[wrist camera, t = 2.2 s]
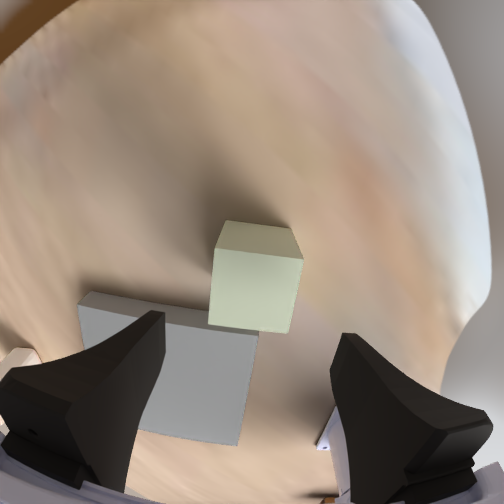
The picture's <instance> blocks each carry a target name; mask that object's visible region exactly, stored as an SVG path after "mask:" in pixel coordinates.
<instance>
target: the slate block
mask: <svg viewBox="0 0 504 504" xmlns="http://www.w3.org/2000/svg"><path fill="white" fill-rule="evenodd" d="M77 308H78V315H79V321H80V327H81V333H82V339H83V344H84V349H85V350H86V349H88V348H90V347H93V346H95V345H97V344H99V343H101V342H102V341H104V340H106V339H108V338H109V337H111V336H113V335H114V334H116V333H118V332H119V331H121V330H122V329H124V328H125V327H127V326H128V325H130V324H131V323H133V322H134V321H136V320H137V319H138V318H140V317H141V316H143V315H144V314H146V313H147V312H148V311H150V310H155V311H161V312H165V329H166V354H165V358H164V361H163V365H162V368H161V372H160V374H159V377H158V379H157V381H156V384H155V386H154V388H153V391H152V393H151V395H150V397H149V400H148V402H147V404H146V407H145V409H144V411H143V414H142V417H141V420H140V423H139V426H138V429H140V430H144V431H148V432H153V433H157V434H162V435H167V436H172V437H177V438H182V439H188V440H194V441H200V442H207V443H214V444H222V445H231V446H237V445H238V440H239V435H240V430H241V425H242V420H243V415H244V410H245V405H246V400H247V395H248V390H249V384H250V379H251V374H252V369H253V363H254V358H255V353H256V347H257V342H258V336H259V332H258V330H249V329H241V328H233V327H225V326H218V325H211V324H208V317H209V311H204V310H197V309H190V308H184V307H178V306H171V305H165V304H159V303H154V302H148V301H142V300H137V299H131V298H126V297H120V296H115V295H110V294H105V293H100V292H95V291H90V292H89V293H88V294H87V295H86V296H85V297H84V298H83V299H82V300H81V301H80V302H79V303H78V304H77Z"/></svg>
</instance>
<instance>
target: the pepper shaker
mask: <svg viewBox="0 0 504 504" xmlns="http://www.w3.org/2000/svg"><path fill="white" fill-rule="evenodd" d="M41 363H42V362H41V360H40V358H39V356H38V355H37V353H36V351H35V350H33V349H29V348H20V347H16V348H14V349H13V350H12V351H11V352H10V353H9V354H8V355H7V356H6V357H5V358H4V359H3V361H2V362H1V363H0V380H1V379H2V378H3V377H4V376H5V375H6V373H7V372H8V371H9V370H10V369H11V368H12V367H21V366H29V365H36V364H41ZM3 423H4V420H3V418H2V417H1V415H0V425H2V424H3Z"/></svg>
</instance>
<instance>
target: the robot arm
mask: <svg viewBox="0 0 504 504" xmlns="http://www.w3.org/2000/svg"><path fill="white" fill-rule="evenodd" d="M165 354H166V329H165V312H161V311H155V310H150V311H148V312H147V313H146V314H144V315H143V316H141V317H140V318H138V319H137V320H136V321H134V322H133V323H131V324H130V325H128V326H127V327H125V328H124V329H122V330H121V331H119V332H118V333H116V334H114V335H113V336H111V337H109V338H108V339H106V340H104V341H102V342H101V343H99V344H97V345H95V346H93V347H90V348H88V349H86V350H84V351H81V352H79V353H76V354H73V355H70V356H67V357H65V358H62V359H58V360H54V361H51V362H46V363H41V364H36V365H29V366H21V367H12V368H11V369H10V370H9V371H8V372H7V373H6V375H5V376H4V377H3V378H2V379H1V380H0V415H1V417H2V418H3V420H4V422H5V424H6V425H7V427H8V429H9V430H10V431H9V433H8V434H7V435H6V436H5V435H4V434H3V433H2V432H1V431H0V504H164V503H159V502H155V501H150V500H146V499H142V498H138V497H135V496H130V495H127V494H124V489H125V483H126V477H127V472H128V467H129V463H130V458H131V453H132V449H133V445H134V441H135V437H136V434H137V430H138V426H139V423H140V420H141V417H142V414H143V411H144V409H145V407H146V404H147V402H148V400H149V397H150V395H151V393H152V391H153V388H154V386H155V384H156V381H157V379H158V377H159V374H160V372H161V368H162V365H163V361H164V358H165ZM330 377H331V385H332V391H333V395H334V398H335V402H336V405H337V406H336V407H335V408H334V411H333V413H332V415H331V417H330V419H329V421H328V423H327V425H326V427H325V429H324V431H323V433H322V435H321V437H320V439H319V441H318V443H317V445H316V449H317V450H330V451H331V456H332V461H333V466H334V471H335V476H336V481H337V486H338V492H339V497H338V498H335V499H334V500H335V503H327V504H504V472H503V470H502V468H501V466H500V464H499V463H498V462H494V463H492V464H490V465H487V466H485V467H483V468H481V469H479V470H477V471H476V472H474V473H473V471H472V469H471V467H473V466H474V464H475V462H474V460H473V459H472V457H473V456H474V455H475V454H476V452H477V451H478V450H479V449H480V448H481V447H482V445H483V444H484V443H485V442H486V441H487V439H488V438H489V437H490V435H491V433H492V430H493V424H492V422H491V420H490V419H489V417H488V416H487V414H486V412H485V411H484V410H480V409H476V408H473V407H469V406H465V405H463V404H459V403H457V402H454V401H452V400H449V399H447V398H445V397H443V396H440V395H438V394H437V393H435V392H433V391H431V390H429V389H427V388H425V387H423V386H422V385H420V384H419V383H417V382H415V381H414V380H412V379H411V378H409V377H408V376H407V375H405V374H404V373H402V372H401V371H400V370H399V369H397V368H396V367H395V366H393V365H392V364H391V363H390V362H389V361H387V360H386V359H385V358H384V357H383V356H382V355H381V354H379V353H378V352H377V351H376V350H375V349H374V348H373V347H372V346H370V345H369V344H368V343H367V342H366V341H365V340H364V339H362V338H361V337H360V336H359V335H357V334H355V333H342V336H341V339H340V342H339V345H338V348H337V351H336V354H335V357H334V359H333V362H332V365H331V368H330Z"/></svg>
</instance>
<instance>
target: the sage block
mask: <svg viewBox="0 0 504 504" xmlns="http://www.w3.org/2000/svg"><path fill="white" fill-rule="evenodd" d="M303 262H304V258H303V256H302V253H301V251H300V249H299V246H298V244H297V241H296V239H295V237H294V234H293V232H292V229H289V228H282V227H275V226H268V225H260V224H253V223H246V222H238V221H230V220H226V221H225V223H224V226H223V228H222V231H221V233H220V236H219V238H218V241H217V243H216V246H215V250H214V260H213V271H212V282H211V293H210V305H209V317H208V324H211V325H218V326H225V327H233V328H241V329H249V330H258V331H267V332H276V333H286V334H288V331H289V326H290V322H291V318H292V313H293V309H294V304H295V300H296V295H297V291H298V286H299V281H300V277H301V272H302V267H303Z"/></svg>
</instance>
